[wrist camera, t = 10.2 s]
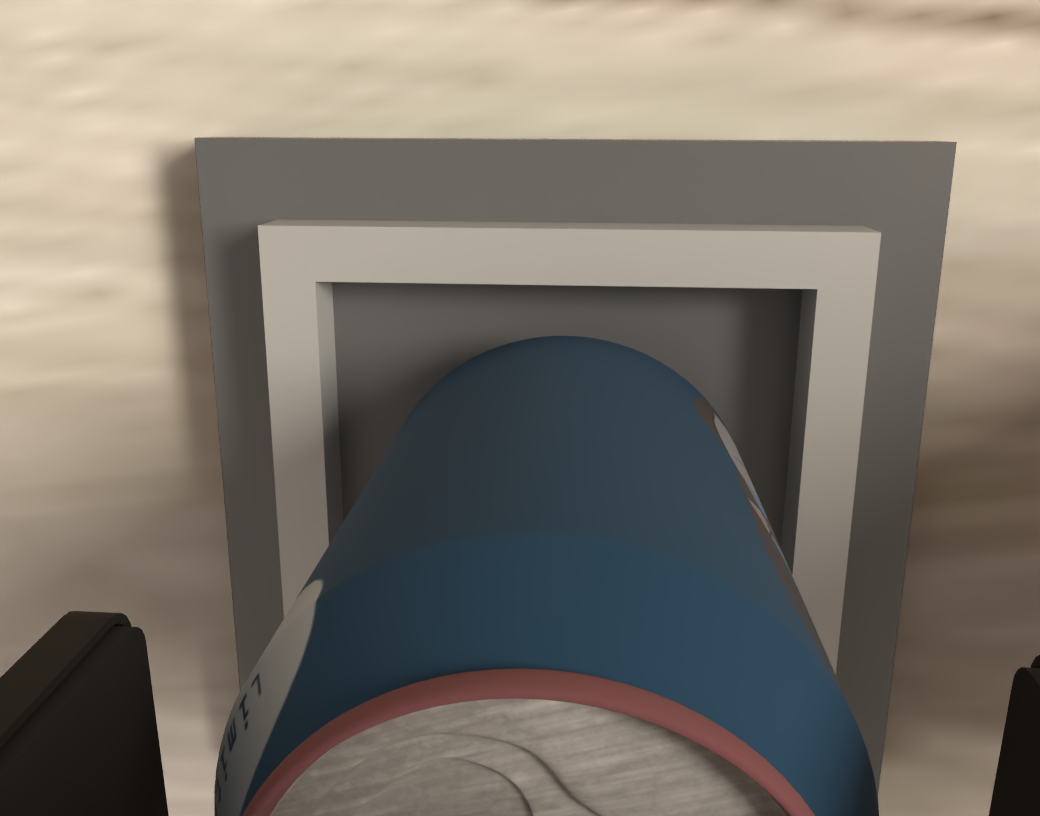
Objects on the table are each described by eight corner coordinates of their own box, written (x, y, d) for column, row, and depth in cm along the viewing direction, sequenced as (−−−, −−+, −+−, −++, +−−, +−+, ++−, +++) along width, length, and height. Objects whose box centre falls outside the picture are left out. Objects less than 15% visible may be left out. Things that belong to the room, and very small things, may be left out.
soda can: (329, 508, 21) (-3, 998, 9) (539, 247, 19) (454, 444, 7) (587, 702, 21) (583, 1373, 10) (811, 469, 20) (1122, 960, 8)
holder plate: (217, 136, 20) (168, 138, 18) (934, 140, 19) (982, 143, 17) (263, 744, 24) (228, 811, 21) (861, 772, 23) (891, 844, 21)
